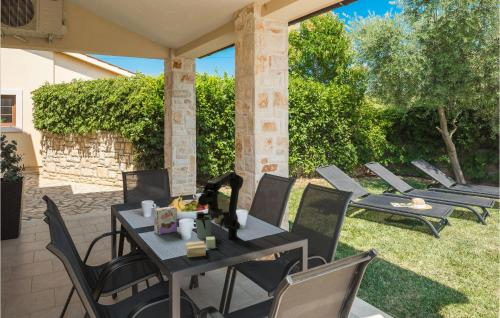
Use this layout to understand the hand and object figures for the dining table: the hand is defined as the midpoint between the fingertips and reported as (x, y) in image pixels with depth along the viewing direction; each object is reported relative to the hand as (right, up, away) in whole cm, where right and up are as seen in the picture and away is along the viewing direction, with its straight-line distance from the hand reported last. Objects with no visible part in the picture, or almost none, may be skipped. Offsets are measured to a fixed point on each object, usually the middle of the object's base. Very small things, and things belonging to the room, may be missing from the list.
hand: (212, 228), depth 199 cm
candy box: (-34, -8, +29) cm, 45 cm away
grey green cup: (-8, -9, +21) cm, 24 cm away
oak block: (-9, -12, -7) cm, 17 cm away
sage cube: (-2, -11, +4) cm, 12 cm away
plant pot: (-1, -6, +54) cm, 54 cm away
